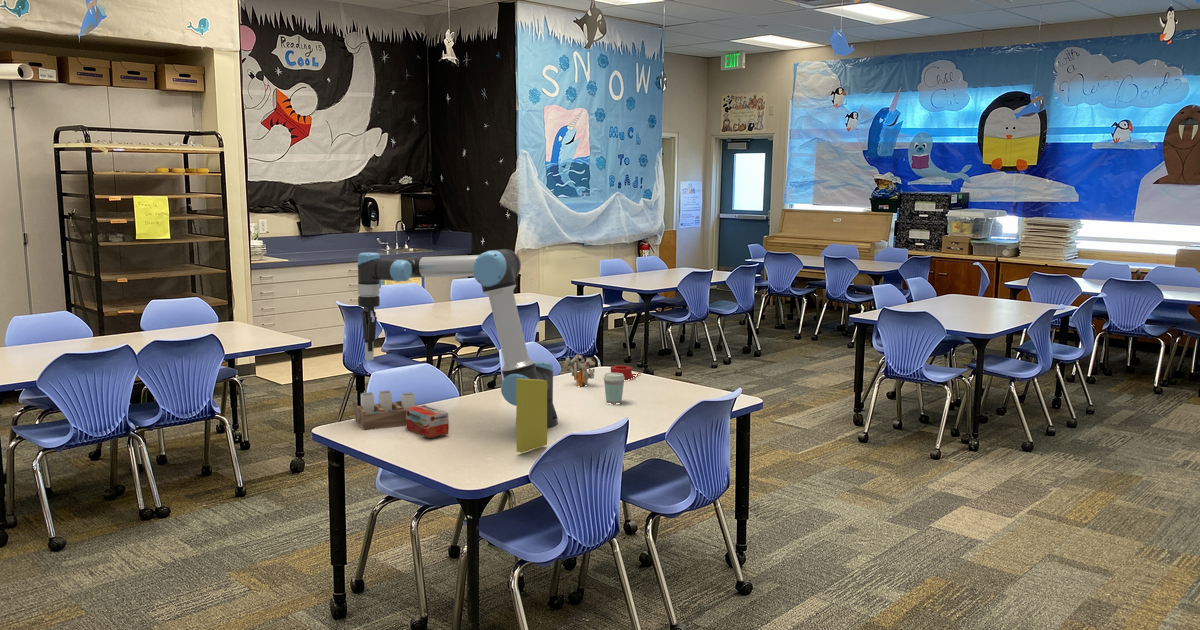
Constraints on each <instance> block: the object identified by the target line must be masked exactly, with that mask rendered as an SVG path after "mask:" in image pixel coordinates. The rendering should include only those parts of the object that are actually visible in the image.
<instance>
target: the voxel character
mask: <svg viewBox="0 0 1200 630" xmlns="http://www.w3.org/2000/svg"><path fill="white" fill-rule="evenodd" d="M579 359H580V360H579ZM585 360H586V361H585ZM570 363H572V364H573V363H574V364H573V365H571V367H570V371H571V376H572V377H573V380H574V381H576V386H577V385H578V386H582V387H583V385H587V386H588V381H589V379H592V380H593V379H594V378H595V368H592V369H591V368H589V365H590V366H595V365H596V362H595V361H594V360H593V361H592V358H586V359H585V357H583V355H581V354H576V355H574V357H573V358H572V359H571V358H570V357H565V361H564V363H563V367H562V369H563V370H565V369H567V368H568V366H569V364H570Z"/></svg>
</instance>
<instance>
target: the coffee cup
mask: <svg viewBox="0 0 1200 630" xmlns="http://www.w3.org/2000/svg"><path fill="white" fill-rule="evenodd" d="M603 380H604V381H603V382H604V392H605V402H607V403H611V404H616V403H621V404H622V399H623V391H624V384H625V381H624V380H625V377H624V374H622V373H611V372H607V373H604V376H603ZM607 403H606V404H607Z"/></svg>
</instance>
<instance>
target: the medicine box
mask: <svg viewBox="0 0 1200 630" xmlns="http://www.w3.org/2000/svg"><path fill="white" fill-rule="evenodd" d="M449 422H450V421H449V412H448V411H445V410H443V409H438V408H436V407H433V406H429V405H427V404H421V405H418V406H415V407H409V408H406V425H405V427H406V430H407V431H410V432H412V433H415V434H418V435H420V436H422V437H425V438H428V439H431V438H437V437H438V436H439V437H440V436H441V437H442V436H445V435H446V436H447V435H449V433H450V432H449V427H450V425H449V424H450V423H449Z"/></svg>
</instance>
